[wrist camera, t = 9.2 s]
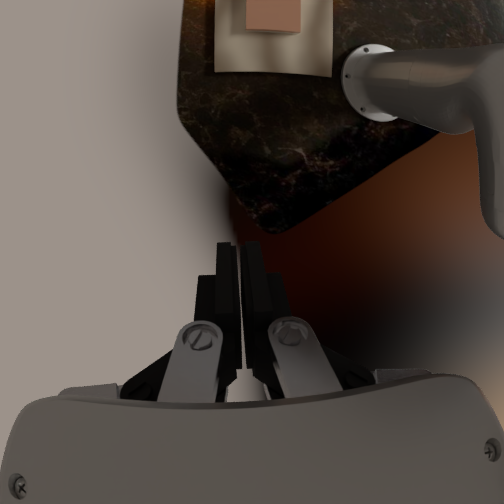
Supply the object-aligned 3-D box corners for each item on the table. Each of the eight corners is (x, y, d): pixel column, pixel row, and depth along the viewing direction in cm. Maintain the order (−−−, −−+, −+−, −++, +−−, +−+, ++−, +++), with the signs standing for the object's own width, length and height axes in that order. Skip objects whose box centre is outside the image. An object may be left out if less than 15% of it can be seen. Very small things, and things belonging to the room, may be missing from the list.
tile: (245, -12, 26) (297, -8, 26) (245, 31, 30) (297, 34, 30) (246, -16, 24) (300, -12, 25) (246, 28, 28) (300, 32, 29)
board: (329, -11, 27) (332, -13, 26) (328, 77, 35) (331, 77, 34) (216, -20, 26) (216, -22, 24) (214, 72, 34) (214, 71, 33)
